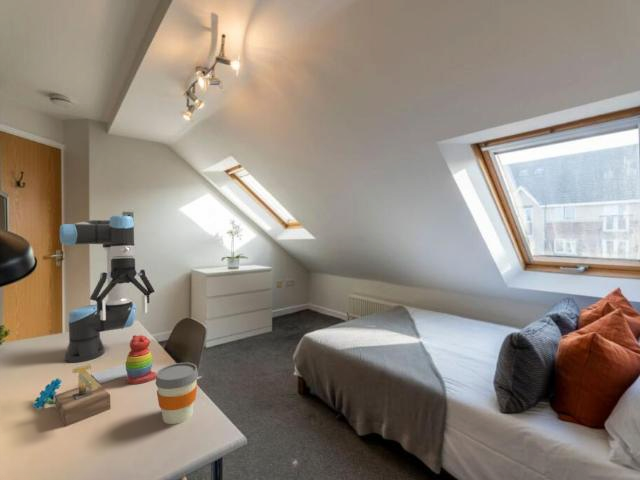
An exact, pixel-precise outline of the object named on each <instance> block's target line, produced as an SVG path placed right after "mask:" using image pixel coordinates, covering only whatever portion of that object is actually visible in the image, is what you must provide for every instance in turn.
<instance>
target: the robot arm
mask: <svg viewBox="0 0 640 480" xmlns="http://www.w3.org/2000/svg"><path fill="white" fill-rule="evenodd" d="M59 240H60V244H62V245H70V246H74V245H102V249H103V250H104V251H106V272H104V271H103V272H101V273H100V276H99V280H98V282H97V284H96V286H95V288H94V290H93V291H92V294H91V295H90V297H89V299H90V300H91V301H96V304H89V305H84V306H80V307H77V308H75V309H72V310H71V311H70V312H69V313H68V320H67V323H68V336H69V337H68V341H69V343H68V345H67V349H66V352H65V353H64V360H65V362H68V363H80V362H81V363H83V362H87V361H90V360H91V361H92V360H95V359H97V358H99V357H101V356H103V355H104V354H105V346H104V343H103V341H102V339H101V332H102V333H103V332H108V331H114V330H123V329H125V328H131V327H132V326H133V325H134V323H135V318H136V308H137V307H136V306H137V305H136V304H135V302H133V299H130V297H129V284H130V283H131V284H133V285H134V286H135V287H136V288H137V289H138V290H139V291H140V292H141V293H142V295H141V311H142V313H143V314H147V313H148V304H150V296H151V294H153V293H155V289H154V287H153V286H152V284H151V282H150V280H149V279H148V277H147V275H146V270H145V269H139V270H136V258H135V256H136V252H135V251H136V249H135V248H136V247H135V223H134V218H133V217H132V216H130V215H112V216H110V217H109V220H105V219H104V220H103V219H102V220H100V219H94V220H93V219H92V220H84V221H79V222H76V223H67V224H66V223H65V224H64V223H63V224H61V225H60V227H59ZM136 276H139V278H140V280H141V281H142V283H143V285H144V286H145V287H144V286H143V285H142V283H140V282H139V281H138V279H137V278H136ZM106 281H107V286H106V287H105V288H104V289H103V290H102V288H103V287H104V285H105V283H106ZM100 292H101V293H100ZM106 296H107V300H104V299H105V298H106Z"/></svg>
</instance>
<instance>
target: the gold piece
mask: <svg viewBox="0 0 640 480" xmlns="http://www.w3.org/2000/svg"><path fill="white" fill-rule="evenodd" d="M90 369H92V365H91V364H86V365H81V366H79V367H75V368H72V374H76V373H78V376H77V377H78V381H77V382H78V383H77V384H78V387H79V395H82V394H85V393H86V385H87V386H88V388H89V389H90V390H91V391H94V390H97V389H98V383H97V380H96V379H95V378H94V377H93V376H92V375H91V374H90V373H89V372H88V371H87V370H90Z"/></svg>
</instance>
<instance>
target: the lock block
mask: <svg viewBox="0 0 640 480" xmlns="http://www.w3.org/2000/svg"><path fill="white" fill-rule="evenodd" d="M96 382H97V381H96ZM97 383H98V382H97ZM54 402H55V405H54V406H55V411H56V413H57V415H58V416H59V417H60V419H61V421H62V422H63V424H64V426H65V427H68V426H71V425H73V424H77V423H79V422H81V421H84V420H86V419H88V418H91V417H94V416H97V415H100V414H102V413H104V412H107V411H109V410H111V406H112V405H111V394H110V393H109V392H108V391H107V390H106V389H105V388H104V387H103V386H102V384H99V383H98V389H97V390H94V391H91V390H90V389H89V388H88V386H87V385H86V393H85V394H82V395H79V386H78V387H75V388H73V389H70V390H66V391H63V392H61V393H60V392H59V393H56V395H55V401H54Z"/></svg>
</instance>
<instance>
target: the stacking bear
mask: <svg viewBox="0 0 640 480" xmlns="http://www.w3.org/2000/svg"><path fill="white" fill-rule="evenodd" d="M150 344H151V340H150V339H149V338H148V337H147V336H146V335H143V334H141V335H136V334H134V335H133V336H132V339H131V340H130V341H129V348H130V349H131V350H130V351H129V353H128V354H127V356H126V362H125V366H126V371H127V376H126V377H127V378H126V384H129V385H138V384H145V383H147V382H150V381H153V380H156V375H157V372H156V371H155V372H154V371H152V367H153V356H152V353H151V350H150V349H149V346H150Z"/></svg>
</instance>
